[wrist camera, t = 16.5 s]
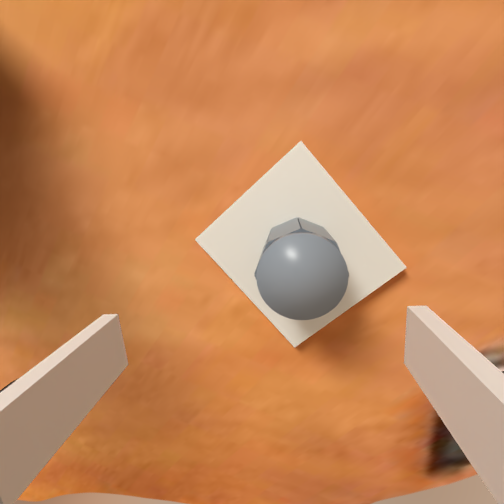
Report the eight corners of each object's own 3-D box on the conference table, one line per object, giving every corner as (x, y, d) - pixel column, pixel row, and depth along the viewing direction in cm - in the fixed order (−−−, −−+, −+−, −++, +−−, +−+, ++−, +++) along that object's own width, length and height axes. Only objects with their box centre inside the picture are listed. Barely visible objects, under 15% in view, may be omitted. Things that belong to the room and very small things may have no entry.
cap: (314, 294, 34) (325, 333, 25) (254, 270, 34) (243, 300, 25) (343, 234, 32) (364, 254, 23) (278, 209, 32) (276, 219, 23)
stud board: (198, 237, 35) (176, 251, 28) (300, 142, 31) (304, 130, 24) (294, 341, 37) (296, 379, 30) (401, 263, 33) (433, 286, 26)
